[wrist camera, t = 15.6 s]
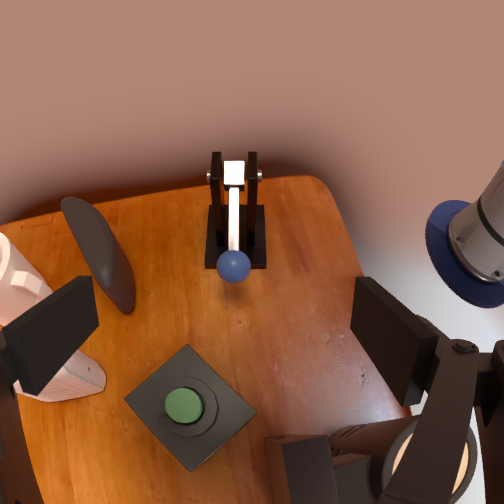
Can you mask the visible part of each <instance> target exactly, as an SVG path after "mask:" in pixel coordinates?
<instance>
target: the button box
mask: <svg viewBox="0 0 504 504" xmlns="http://www.w3.org/2000/svg"><path fill="white" fill-rule="evenodd" d="M178 388H187V389H190V390H192V391H193V392H195V393H196V394H197V395H198V396H199V397H200V399H201V401H202V404H203V410H202V413H201V415H200V417H199V418H198V419H197V420H195V421H194V422H191V423H181V422H177V421H175V420H173V419H172V418H171V417H170V416H169V415H168V414H167V412H166V409H165V401H166V398H167V396H168V394H169V393H170V392H171V391H173V390H175V389H178ZM124 400H125V401H126V402H127V403H128V405H129V406H130V407H131V408H132V409H133V411H134V412H135V413H136V414H137V415H138V417H139V418H140V419H141V420H142V421H143V423H144V424H145V425H146V426H147V427H148V428H149V429H150V431H151V432H152V433H153V434H154V435H155V436H156V437H157V438H158V439H159V441H160V442H161V443H162V444H163V445H164V446H165V447H166V448H167V449H168V450H169V451H170V452H171V453H172V454H173V455H174V456H175V457H176V458H177V460H178V461H179V462H180V463H181V464H182V465H183V466H184V467H185V468H186V469H188V470H189V471H190V472H192V471H193V470H195V469H196V468H197V467H198V466H199V465H200V464H202V463H203V462H204V461H205V460H206V459H208V458H209V457H210V456H211V455H212V454H213V453H214V452H216V451H217V450H218V449H219V448H220V447H221V446H222V445H224V444H225V443H226V442H227V441H228V440H229V439H230V438H231V437H232V436H233V435H235V434H236V433H237V432H238V431H239V430H240V429H241V428H242V427H243V426H244V425H245V424H246V423H247V422H249V421H250V420H251V419H252V418H253V417H254V416H255V415H256V414H257V411H256V410H254V409H253V408H252V407H251V406H250V405H249V404H248V403H247V402H246V401H245V400H244V399H243V398H242V397H240V396H239V395H238V394H237V393H236V392H235V391H234V390H233V389H232V388H231V387H230V386H229V385H228V384H227V383H226V382H225V381H224V380H223V379H222V378H221V377H220V376H219V375H218V374H217V373H216V372H215V371H214V370H213V369H212V368H211V367H210V366H209V365H208V364H207V363H206V362H205V361H204V360H203V359H202V358H201V357H200V356H199V355H198V354H197V353H196V352H195V351H194V350H193V349H192V348H191V347H190V346H189V345H188V344H186V345H185V346H184V347H183V348H182V349H181V350H180V351H178V352H177V353H176V354H175V355H174V356H173V357H172V358H170V359H169V360H168V361H167V362H166V363H165V364H164V365H162V366H161V367H160V368H159V369H158V370H157V371H155V372H154V373H153V374H152V375H151V376H150V377H149V378H147V379H146V380H145V381H144V382H143V383H142V384H140V385H139V386H138V387H137V388H136V389H135V390H133V391H132V392H131V393H130V394H129V395H128V396H126V397H125V398H124Z"/></svg>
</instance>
